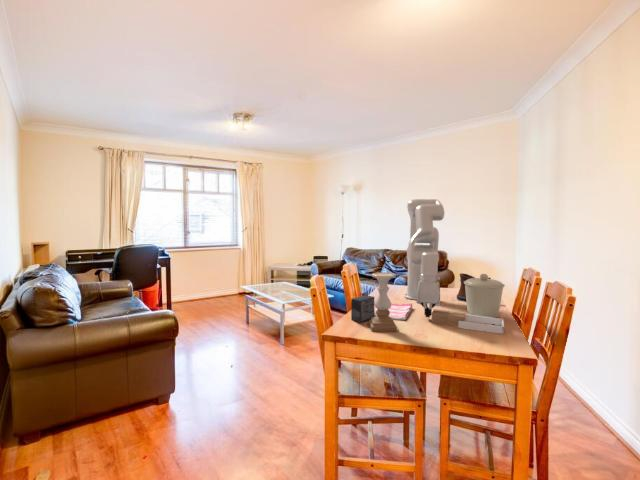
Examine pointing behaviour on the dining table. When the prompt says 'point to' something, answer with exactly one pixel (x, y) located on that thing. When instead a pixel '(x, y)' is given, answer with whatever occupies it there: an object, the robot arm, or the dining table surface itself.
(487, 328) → the tray
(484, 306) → the canister
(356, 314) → the small box
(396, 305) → the dish towel
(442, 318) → the tile
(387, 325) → the candle holder
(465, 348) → the dining table surface
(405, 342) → the dining table surface
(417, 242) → the robot arm
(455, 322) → the tile
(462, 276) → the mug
